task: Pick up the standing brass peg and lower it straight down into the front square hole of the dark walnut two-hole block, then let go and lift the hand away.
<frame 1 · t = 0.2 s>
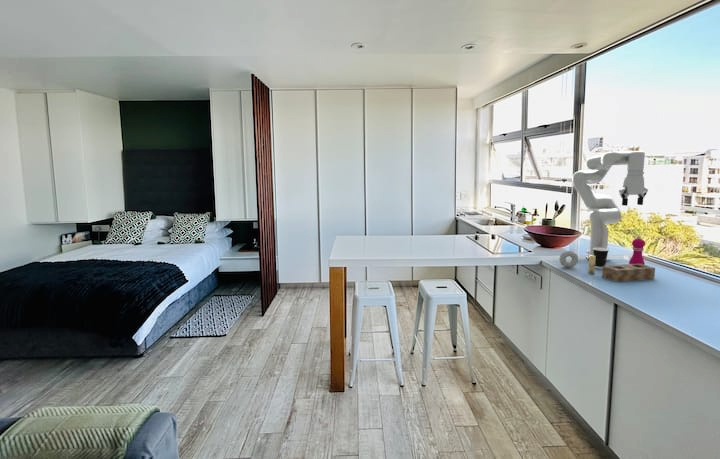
hand: (632, 205, 230), 36 cm above the countertop, tool pointing down, fingers open, 9 cm apart
pepper mill: (636, 271, 231), on the countertop
dixie cup: (599, 267, 240), on the countertop
hole block: (627, 277, 219), on the countertop
donut: (568, 267, 242), on the countertop
brass peg: (591, 273, 229), on the countertop
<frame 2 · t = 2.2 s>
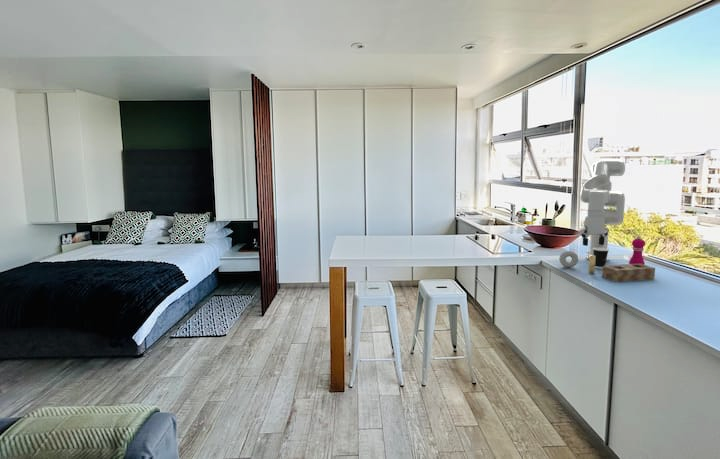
hand: (593, 245, 226), 16 cm above the countertop, tool pointing down, fingers open, 9 cm apart
nothing on the countertop moved.
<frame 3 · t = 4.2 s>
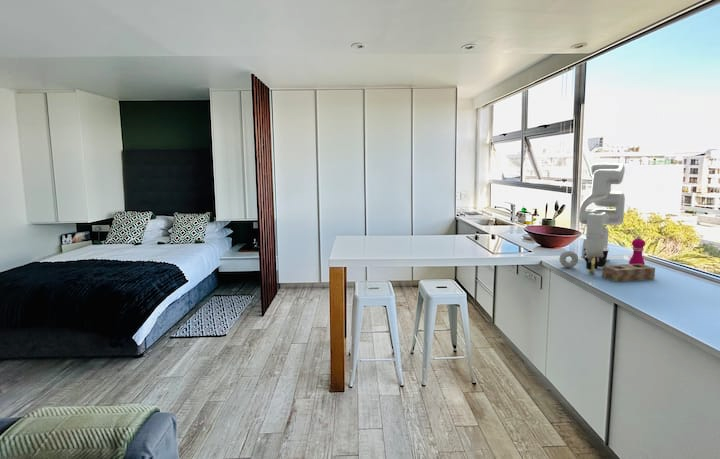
hand: (591, 268, 228), 3 cm above the countertop, tool pointing down, fingers closed on brass peg, 3 cm apart
brass peg: (591, 273, 229), on the countertop, touching gripper
everything else where it was.
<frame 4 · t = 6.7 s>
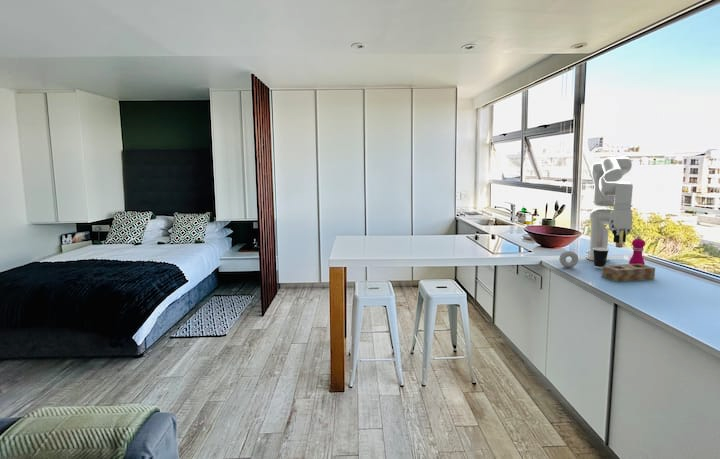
hand: (619, 241, 215), 19 cm above the countertop, tool pointing down, fingers closed on brass peg, 3 cm apart
brass peg: (619, 247, 216), point 17 cm above the countertop, touching gripper
everything else where it was.
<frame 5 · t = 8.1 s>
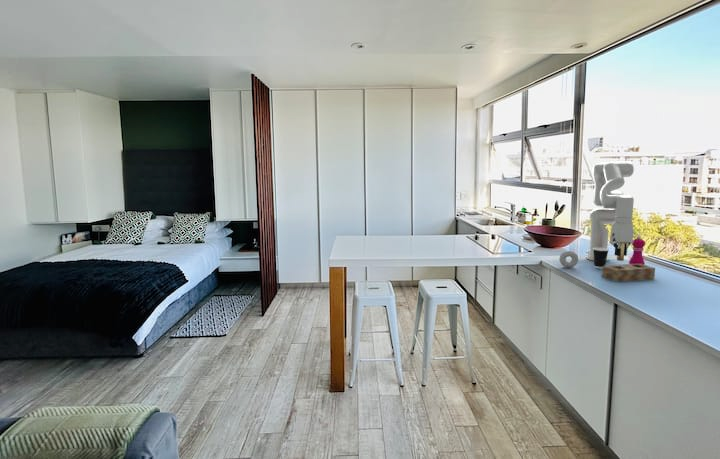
hand: (620, 255, 216), 13 cm above the countertop, tool pointing down, fingers closed on brass peg, 3 cm apart
brass peg: (620, 260, 216), point 10 cm above the countertop, touching gripper
everything else where it was.
when the fingers open (7 cm above the countertop, at t = 9.3 s): brass peg drops 4 cm, resting in hole block.
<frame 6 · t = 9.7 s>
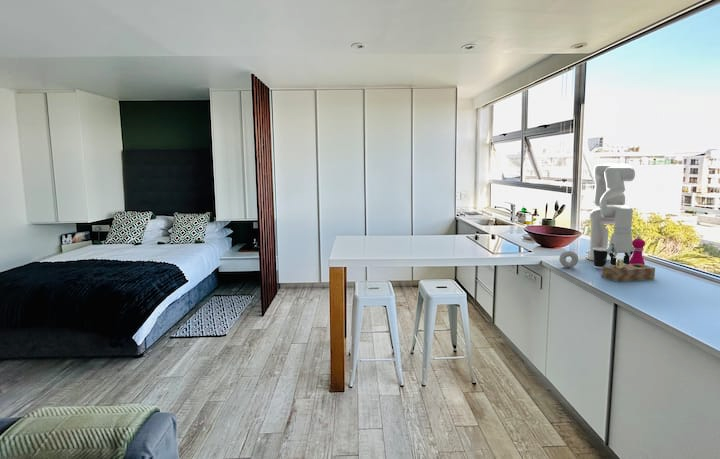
hand: (619, 264, 217), 8 cm above the countertop, tool pointing down, fingers open, 7 cm apart
brass peg: (618, 278, 218), resting in hole block
everything else where it was.
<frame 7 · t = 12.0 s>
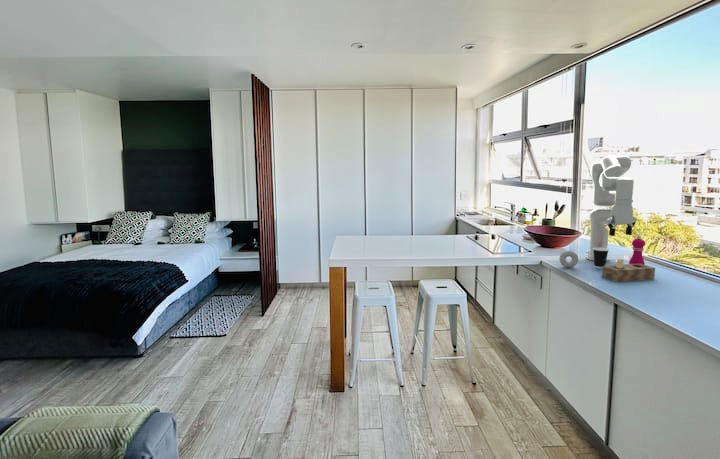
hand: (620, 235, 216), 23 cm above the countertop, tool pointing down, fingers open, 9 cm apart
nothing on the countertop moved.
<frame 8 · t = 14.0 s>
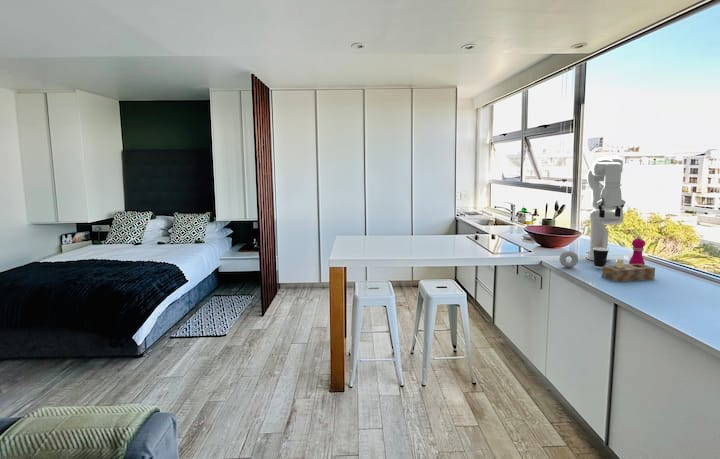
hand: (609, 217, 229), 30 cm above the countertop, tool pointing down, fingers open, 9 cm apart
nothing on the countertop moved.
at the end: brass peg 0.1 cm from the target spot on the hole block, point 0.0 cm above the hole block's base; brass peg tilted 0°; the gripper is holding nothing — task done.
